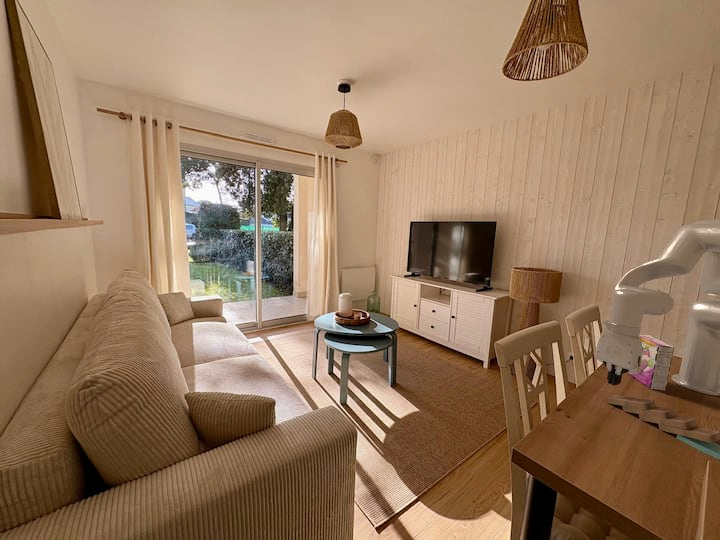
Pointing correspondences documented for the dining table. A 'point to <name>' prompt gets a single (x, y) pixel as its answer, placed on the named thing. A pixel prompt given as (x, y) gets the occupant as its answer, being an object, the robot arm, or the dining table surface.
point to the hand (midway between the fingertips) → (613, 383)
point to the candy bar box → (654, 363)
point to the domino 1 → (631, 402)
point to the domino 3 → (671, 421)
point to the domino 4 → (694, 433)
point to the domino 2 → (652, 412)
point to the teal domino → (702, 445)
